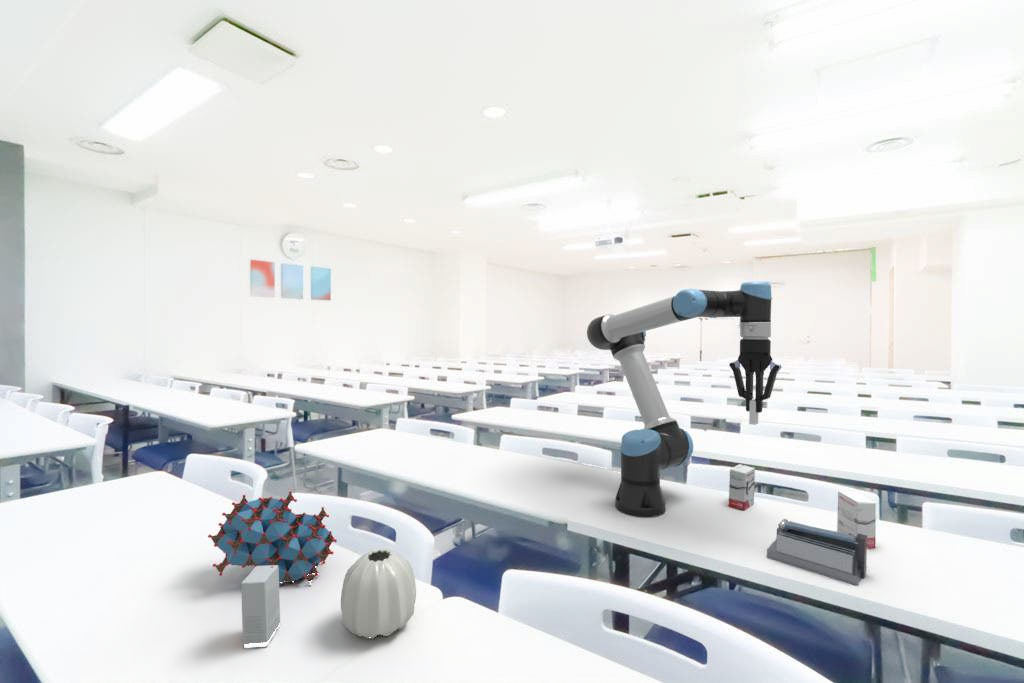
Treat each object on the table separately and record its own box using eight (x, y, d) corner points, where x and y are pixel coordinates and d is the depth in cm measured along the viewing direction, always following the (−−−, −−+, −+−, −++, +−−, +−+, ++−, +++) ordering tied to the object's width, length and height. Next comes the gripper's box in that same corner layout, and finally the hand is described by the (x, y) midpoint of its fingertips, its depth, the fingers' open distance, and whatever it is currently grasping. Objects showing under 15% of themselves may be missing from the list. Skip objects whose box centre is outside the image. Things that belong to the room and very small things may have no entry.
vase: (344, 658, 81) (343, 581, 80) (339, 612, 93) (338, 546, 93) (424, 636, 86) (423, 564, 86) (409, 596, 99) (408, 533, 98)
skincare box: (257, 627, 89) (256, 565, 88) (280, 626, 89) (279, 564, 89) (241, 649, 83) (240, 582, 82) (266, 648, 83) (265, 581, 83)
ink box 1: (744, 511, 144) (745, 472, 143) (728, 506, 147) (728, 469, 147) (754, 503, 150) (755, 466, 149) (738, 499, 153) (739, 463, 153)
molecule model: (348, 518, 118) (253, 472, 112) (341, 543, 104) (233, 492, 98) (311, 577, 116) (213, 533, 111) (300, 611, 102) (188, 563, 97)
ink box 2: (876, 548, 120) (877, 502, 119) (856, 548, 120) (857, 502, 120) (854, 533, 128) (855, 490, 128) (835, 533, 129) (836, 490, 128)
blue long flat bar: (778, 528, 117) (778, 522, 117) (782, 523, 120) (782, 518, 120) (853, 545, 106) (852, 538, 106) (855, 539, 109) (855, 533, 109)
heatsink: (766, 557, 115) (767, 521, 115) (780, 541, 124) (781, 508, 124) (860, 586, 102) (861, 546, 102) (869, 566, 111) (870, 529, 111)
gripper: (725, 338, 132) (724, 422, 132) (777, 339, 122) (775, 429, 123) (735, 337, 137) (734, 418, 138) (785, 338, 128) (783, 425, 129)
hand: (753, 423), depth 131 cm, fingers closed
